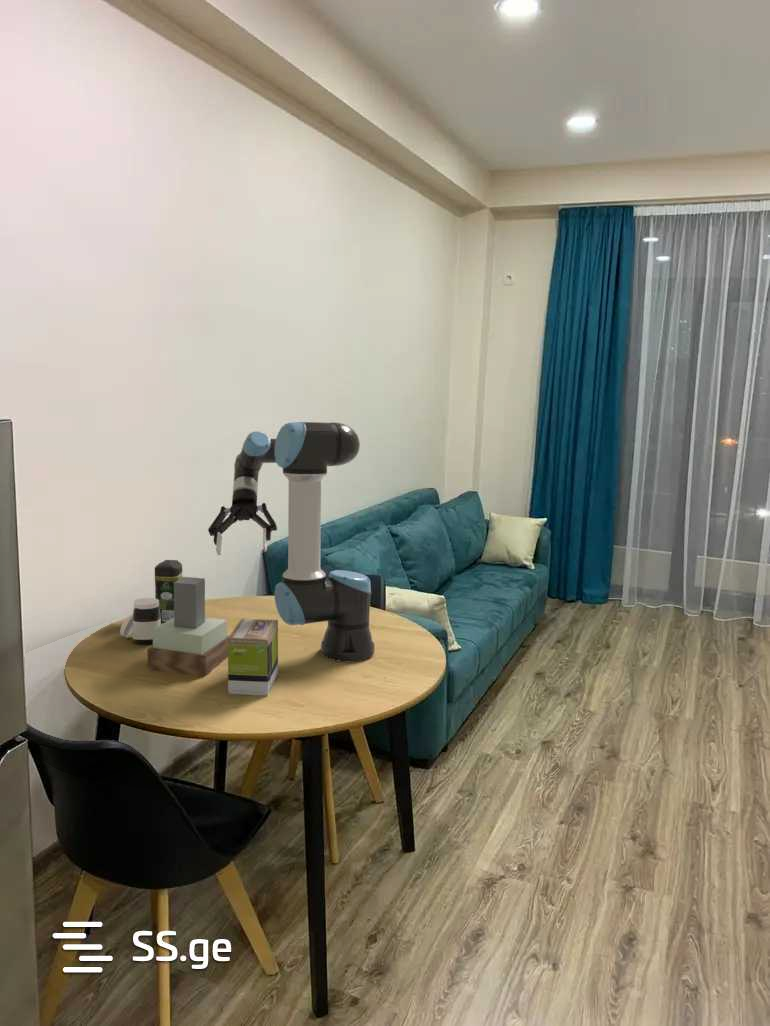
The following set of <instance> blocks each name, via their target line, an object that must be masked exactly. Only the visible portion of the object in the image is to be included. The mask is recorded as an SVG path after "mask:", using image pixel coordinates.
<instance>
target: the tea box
mask: <svg viewBox="0 0 770 1026" xmlns="http://www.w3.org/2000/svg"><path fill="white" fill-rule="evenodd" d="M228 636H229V638H228V657H227V678H228V679H227V680H228V681H227V684H228V685H227V686H228V690H227V691H228V694H229V695H246V696H247V695H248V696H268V695H269V693H270V691H271V689H272V686H273V684H274V682H275V680H276V678H277V676H278V673H279V619H257V618H256V619H255V618H240V620H239V621H238V623H237V624H236V626H235V627H234V629H233V630H232V632H231V633H230V635H228Z"/></svg>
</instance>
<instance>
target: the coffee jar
mask: <svg viewBox="0 0 770 1026" xmlns="http://www.w3.org/2000/svg"><path fill="white" fill-rule="evenodd" d="M182 577H183V564H182V563H181V562H180V561H179V560H177V559H165V560H163V561H162V562H160V563H158V564H156V566H154V584H155V585H154V587H155V588H154V595H155V596H154V598H155V599H158V600H159V608H160V611H161V624H163V623H165V622H167V621H169V620H171V619H172V618H174V582H176V581H177V580H179V579H181V578H182Z"/></svg>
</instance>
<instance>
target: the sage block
mask: <svg viewBox="0 0 770 1026" xmlns="http://www.w3.org/2000/svg"><path fill="white" fill-rule="evenodd" d="M227 636H228V620H227V619H222V618H220V619H219V618H214V617H209V616H208V617H206V616H205V622H204V623H203V624H202V625H200V626H199V627H198V628H197V629H191V628H180V627H174V618H172V619H171V620H169V621H167V622H165V623H161V625H160V626H158V627H156V628H154V629H153V643H152V646H153V648H159V649H165V650H172V651H179V652H186V653H193V654H200V655H202V654H204V653H205V652H206V651H208V650H209V649H211V648H212V647H214V646H215V645H217V644H218V643H220V642H221V641H223V640H224V639H226V638H227Z"/></svg>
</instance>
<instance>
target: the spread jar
mask: <svg viewBox="0 0 770 1026" xmlns="http://www.w3.org/2000/svg"><path fill="white" fill-rule="evenodd" d="M133 606H134V608H133V611H132V613H131V614H129V615H127V616H126V618H125V619H124V620H123V622H122V625H121V627H120V631H119V635H120V636H122V637H124V638H127V637H129V636H131V634H132V639H133V642H135V643H136V644H138V643H139V645H151V644H152V645H153V629H154V628H156V627H158V626H160V625H161V624H162V623H161V611H160V608H159V600H158V599H155V597H142V598H138V599H135V600H134V601H133Z"/></svg>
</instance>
